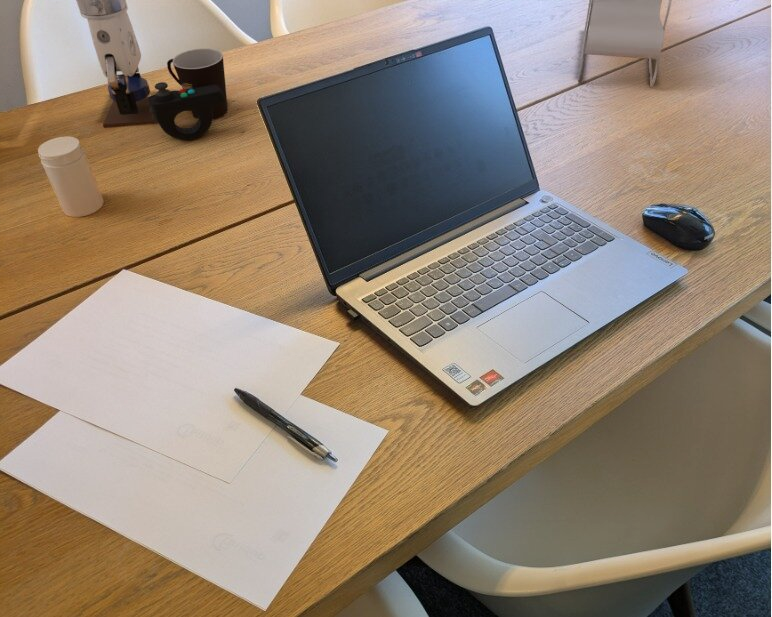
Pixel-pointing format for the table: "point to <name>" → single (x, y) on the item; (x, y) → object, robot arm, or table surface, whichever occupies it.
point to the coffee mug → (201, 73)
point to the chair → (624, 30)
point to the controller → (185, 108)
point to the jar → (71, 176)
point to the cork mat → (129, 115)
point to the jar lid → (134, 88)
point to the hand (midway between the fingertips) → (133, 103)
